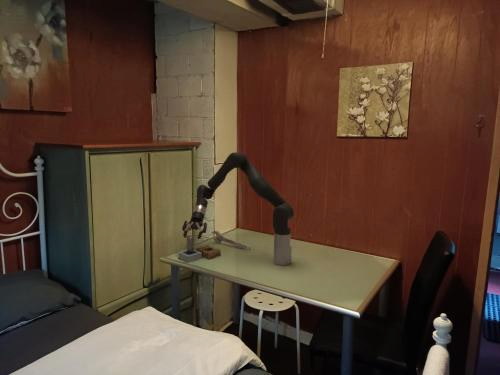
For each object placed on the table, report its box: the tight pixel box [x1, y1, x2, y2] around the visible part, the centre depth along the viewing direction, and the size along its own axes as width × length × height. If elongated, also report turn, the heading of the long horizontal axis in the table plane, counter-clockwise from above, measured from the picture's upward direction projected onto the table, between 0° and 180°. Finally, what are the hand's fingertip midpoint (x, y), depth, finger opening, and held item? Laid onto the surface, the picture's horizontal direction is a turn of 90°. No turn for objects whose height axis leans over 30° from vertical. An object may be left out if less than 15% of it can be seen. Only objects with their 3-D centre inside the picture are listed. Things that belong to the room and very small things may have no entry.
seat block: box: [178, 249, 203, 263], centre depth 211 cm, size 10×10×4 cm
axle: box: [186, 235, 195, 255], centre depth 211 cm, size 4×4×13 cm
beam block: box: [195, 244, 222, 260], centre depth 217 cm, size 12×9×4 cm
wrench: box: [211, 230, 252, 251], centre depth 234 cm, size 8×2×30 cm
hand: (191, 237), depth 212 cm, fingers open, 8 cm apart
